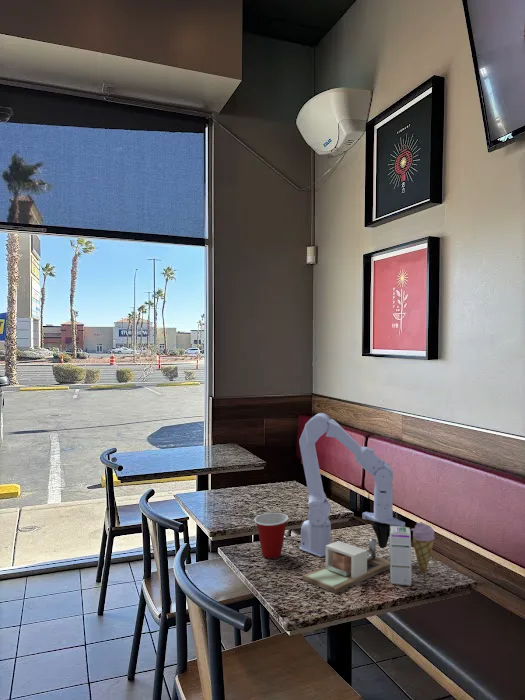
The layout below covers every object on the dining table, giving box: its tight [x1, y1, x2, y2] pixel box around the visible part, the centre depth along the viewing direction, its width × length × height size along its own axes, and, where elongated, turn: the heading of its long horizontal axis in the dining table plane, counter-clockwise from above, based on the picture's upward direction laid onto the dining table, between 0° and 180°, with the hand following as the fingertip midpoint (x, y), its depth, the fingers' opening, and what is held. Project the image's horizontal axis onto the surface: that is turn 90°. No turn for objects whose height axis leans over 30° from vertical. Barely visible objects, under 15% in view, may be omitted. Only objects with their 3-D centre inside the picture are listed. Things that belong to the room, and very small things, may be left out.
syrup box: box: [389, 526, 412, 586], centre depth 151 cm, size 6×6×14 cm
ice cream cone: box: [410, 521, 435, 574], centre depth 157 cm, size 7×6×15 cm
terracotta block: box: [333, 552, 351, 571], centre depth 154 cm, size 4×4×4 cm
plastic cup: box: [253, 512, 289, 559], centre depth 169 cm, size 11×11×12 cm
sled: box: [327, 537, 377, 576], centre depth 159 cm, size 7×18×5 cm, turn 133°
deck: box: [301, 553, 390, 594], centre depth 156 cm, size 12×27×1 cm, turn 133°
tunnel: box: [324, 540, 368, 578], centre depth 155 cm, size 10×6×6 cm, turn 43°
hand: (382, 546), depth 168 cm, fingers closed
